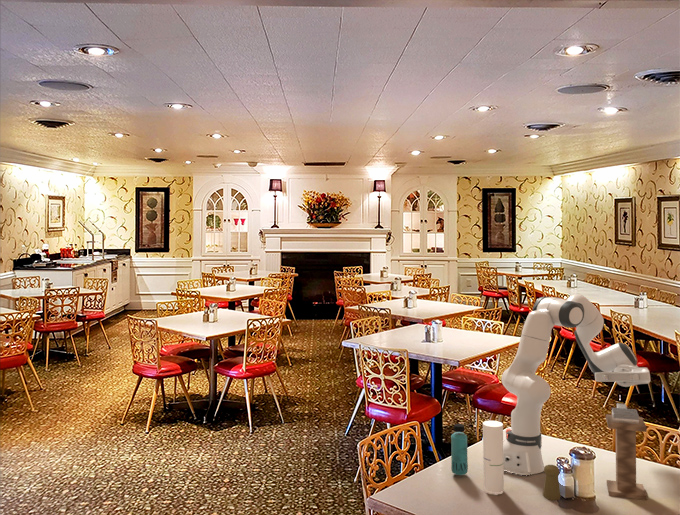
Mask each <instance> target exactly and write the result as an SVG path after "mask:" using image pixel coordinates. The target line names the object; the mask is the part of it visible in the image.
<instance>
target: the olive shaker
mask: <svg viewBox="0 0 680 515" xmlns="http://www.w3.org/2000/svg"><path fill="white" fill-rule="evenodd" d="M543 472H544V474H545V478H544V485H543V492H542V496H543V498H545V499H547V500H550V501H560V500H561V499H560V497H561V498H562V495H561V489H560V482H559V476H560V468H559V467H558V466H557V465H555V464H547V465H544V471H543Z"/></svg>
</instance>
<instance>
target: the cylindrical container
mask: <svg viewBox="0 0 680 515" xmlns="http://www.w3.org/2000/svg"><path fill="white" fill-rule="evenodd" d="M503 441H504V424H503V422H500V421H497V420H485V421H483V422H482V449H483V451H482V453H483V454H482V459H483V460H482V462H483V464H482V466H483V489H484V488H485V489H486V490H488V491H492V492H501V491H503V490H504V491H505V477H504V474H505V472H504V464H503Z"/></svg>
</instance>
